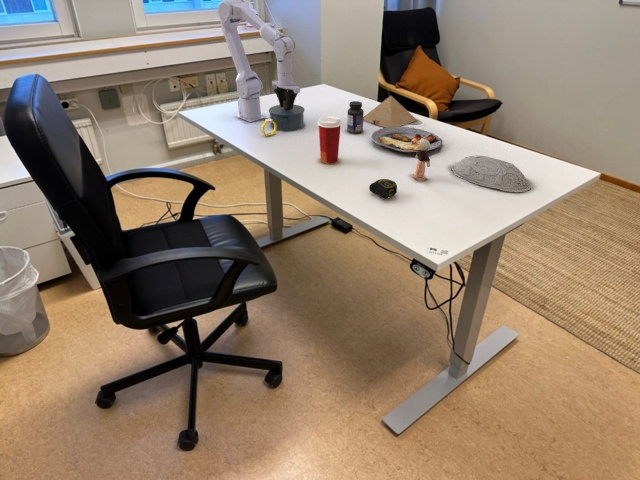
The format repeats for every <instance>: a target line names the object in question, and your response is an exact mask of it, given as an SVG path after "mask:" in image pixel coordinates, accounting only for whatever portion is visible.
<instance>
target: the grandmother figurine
mask: <svg viewBox="0 0 640 480" xmlns="http://www.w3.org/2000/svg"><path fill="white" fill-rule="evenodd" d="M430 146H431V145H430V143H429V141H428V140H426V139H421V140H420V145H419V149H420V150H418V152H416V154H415V159H416V160H417V163H416V167H415V171H414V173H412V176H411V177H412V178H415V179H416V181H417V182H424V181H425V180H426V178H425V173H426V167H427V168H430V167H431V159H430V157H429V154H428V152H427V151H426V150H427V148H429V147H430Z"/></svg>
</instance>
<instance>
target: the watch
mask: <svg viewBox="0 0 640 480" xmlns="http://www.w3.org/2000/svg"><path fill="white" fill-rule="evenodd" d="M271 122H273V124H274V129H273V130H272V131H271V133H266V132H265V126H266V125H267V124H269V123H270V124H271ZM276 129H277V126H276V123H275V122H274V121H273V120H272V119H270V118H264V121H263V122H262V124H261V128H260V130H261V131H260V132H261V133H262V134H263V135H264V136H265V137H269V136H274V135H275V134H276V131H277V130H276Z"/></svg>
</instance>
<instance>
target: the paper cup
mask: <svg viewBox="0 0 640 480" xmlns="http://www.w3.org/2000/svg"><path fill="white" fill-rule="evenodd" d="M317 126H318V139H319V140H318V141H319V153H320V162H321V163H323V164H325V165H332V164H336V163H338V160H339V150H340V148H339V147H340V139H341V126H342V121H341V118H339V117H337V116H333V115H332V116H331V115H328V116H322V117H320V118H319V119H318V121H317Z"/></svg>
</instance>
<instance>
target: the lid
mask: <svg viewBox="0 0 640 480" xmlns="http://www.w3.org/2000/svg"><path fill="white" fill-rule="evenodd" d="M283 106H284V107H282V108H281V107H280V104H277V105H273V106H270V107H269V109H268V113H269V114H270V113H271V114H273V115H277V116H295V115H299V114H302V113H303V112H305V107H303V106H302V105H299V104H294V105H293V109H291V110H288V109H287V102H286V100H284V101H283Z"/></svg>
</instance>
